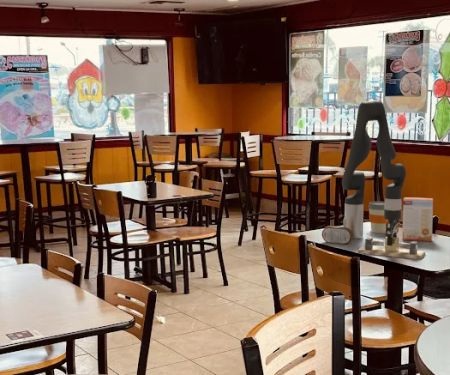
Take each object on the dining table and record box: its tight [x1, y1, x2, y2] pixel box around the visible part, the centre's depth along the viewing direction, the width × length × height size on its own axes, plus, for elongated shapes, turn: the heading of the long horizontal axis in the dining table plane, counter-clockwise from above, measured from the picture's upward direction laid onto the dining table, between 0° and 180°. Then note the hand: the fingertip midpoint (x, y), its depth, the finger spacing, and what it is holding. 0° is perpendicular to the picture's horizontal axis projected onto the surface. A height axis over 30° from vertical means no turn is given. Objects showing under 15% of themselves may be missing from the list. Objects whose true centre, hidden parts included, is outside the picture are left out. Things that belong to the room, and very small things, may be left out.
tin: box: [321, 225, 354, 245], centre depth 336 cm, size 15×3×8 cm, turn 65°
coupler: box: [384, 236, 400, 252], centre depth 313 cm, size 5×4×6 cm
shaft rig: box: [357, 237, 426, 260], centre depth 313 cm, size 28×10×6 cm, turn 63°
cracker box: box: [401, 196, 434, 242], centre depth 343 cm, size 14×6×21 cm, turn 71°
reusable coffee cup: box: [368, 200, 389, 234], centre depth 366 cm, size 13×13×15 cm
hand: (391, 243), depth 313 cm, fingers open, 8 cm apart
